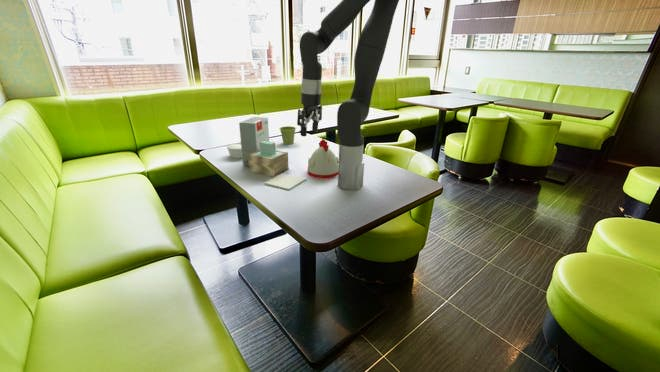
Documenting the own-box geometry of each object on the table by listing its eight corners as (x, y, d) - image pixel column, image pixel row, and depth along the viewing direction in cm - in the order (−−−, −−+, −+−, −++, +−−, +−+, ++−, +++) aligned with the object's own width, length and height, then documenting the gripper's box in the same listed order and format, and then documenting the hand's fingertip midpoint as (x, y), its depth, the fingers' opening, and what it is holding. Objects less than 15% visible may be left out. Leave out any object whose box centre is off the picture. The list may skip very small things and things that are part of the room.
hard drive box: (258, 167, 137) (254, 123, 128) (242, 165, 138) (237, 122, 130) (270, 156, 151) (268, 117, 142) (256, 155, 152) (253, 116, 144)
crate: (288, 169, 135) (287, 152, 131) (273, 177, 126) (272, 159, 123) (265, 164, 140) (264, 147, 137) (249, 171, 131) (248, 154, 128)
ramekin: (254, 153, 156) (253, 143, 154) (247, 159, 146) (245, 149, 144) (233, 152, 157) (232, 142, 155) (224, 158, 147) (223, 148, 145)
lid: (284, 155, 131) (283, 141, 129) (271, 160, 124) (270, 146, 122) (265, 151, 136) (264, 138, 134) (252, 156, 129) (251, 143, 127)
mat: (306, 179, 124) (306, 178, 123) (289, 190, 114) (289, 188, 114) (282, 174, 129) (282, 173, 128) (264, 184, 119) (264, 182, 119)
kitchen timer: (314, 180, 123) (314, 145, 117) (303, 169, 135) (302, 137, 129) (344, 175, 129) (345, 142, 123) (330, 165, 140) (331, 134, 134)
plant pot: (295, 145, 170) (294, 130, 166) (279, 145, 170) (278, 129, 166) (297, 140, 178) (296, 126, 175) (281, 140, 179) (280, 126, 175)
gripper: (309, 95, 104) (307, 139, 112) (329, 91, 116) (326, 131, 123) (292, 92, 107) (291, 135, 115) (312, 88, 119) (310, 128, 126)
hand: (309, 133), depth 119 cm, fingers open, 8 cm apart
